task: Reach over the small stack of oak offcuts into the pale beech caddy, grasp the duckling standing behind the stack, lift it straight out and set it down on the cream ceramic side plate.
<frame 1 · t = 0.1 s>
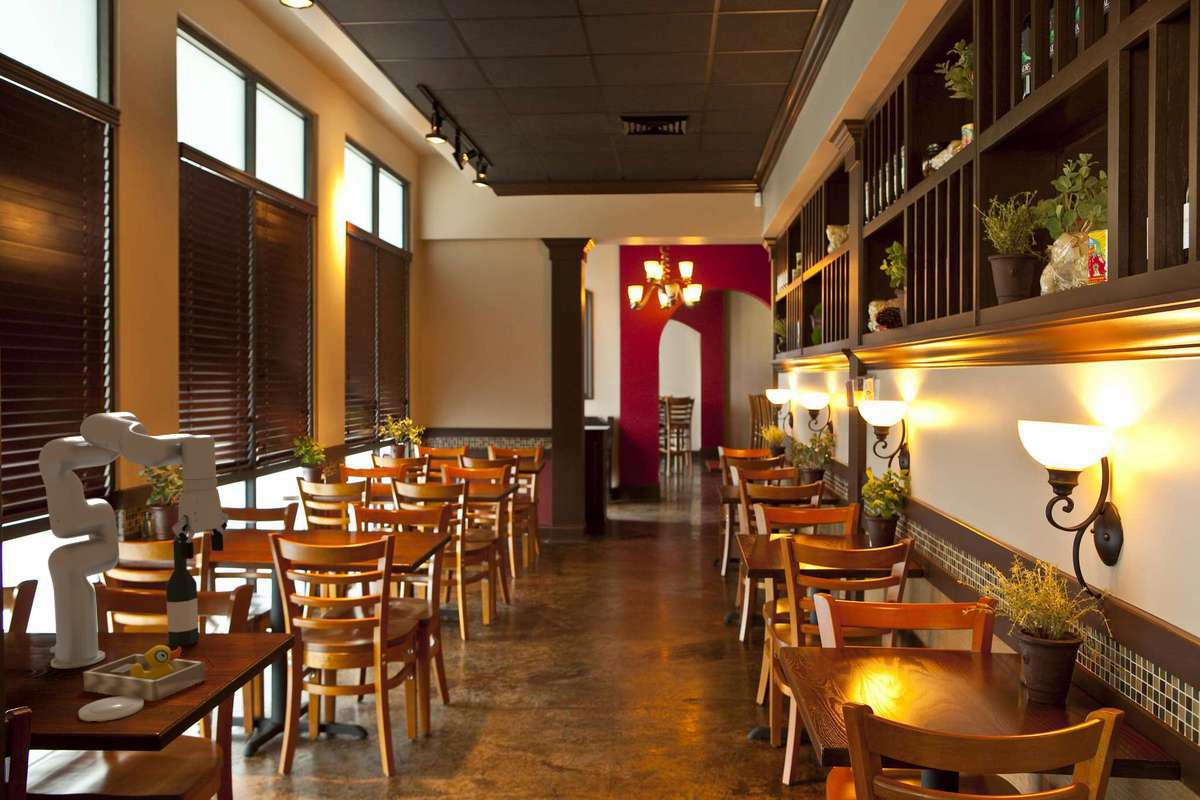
hand: (203, 554, 226), 31 cm above the table, tool pointing down, fingers open, 9 cm apart
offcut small: (125, 676, 226), point 2 cm above the table, touching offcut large
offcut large: (126, 685, 226), on the table, touching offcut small
wine bottle: (183, 643, 259), on the table
plate: (111, 710, 207), on the table
duckling: (156, 687, 223), on the table
caddy: (147, 685, 224), on the table
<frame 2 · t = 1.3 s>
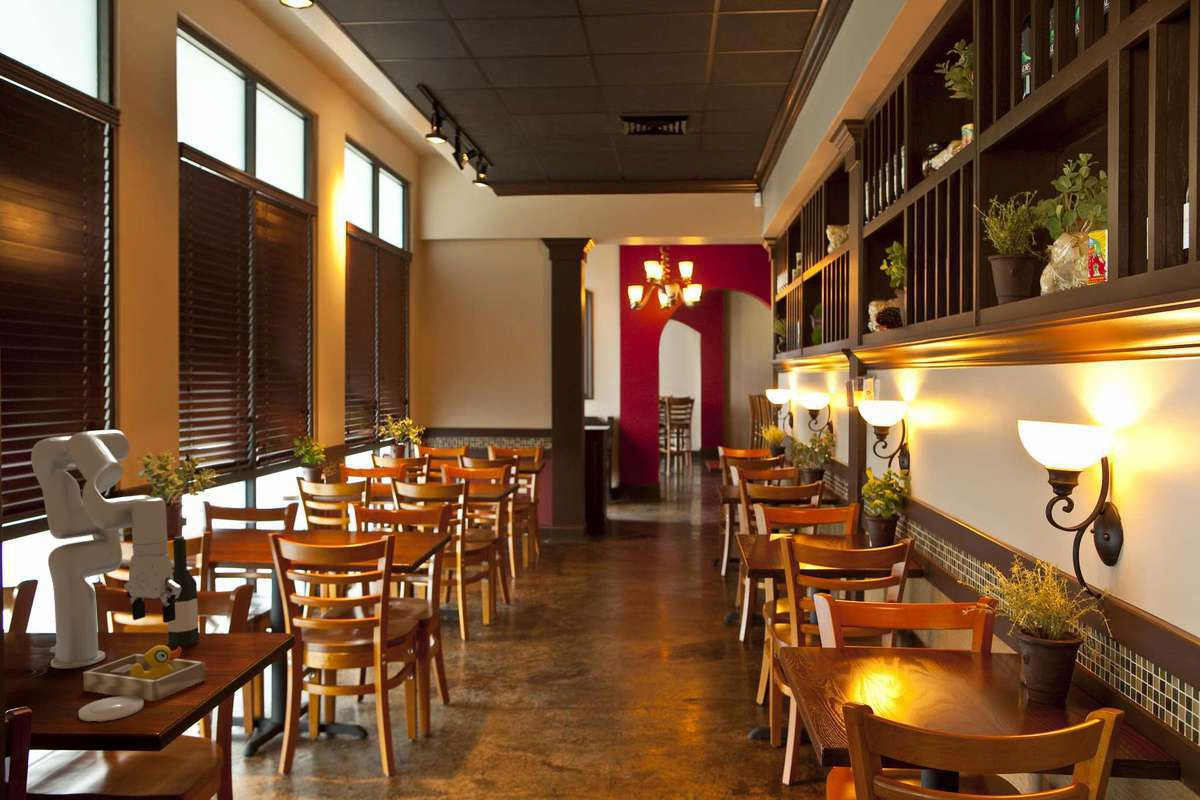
hand: (154, 619, 222), 16 cm above the table, tool pointing down, fingers open, 9 cm apart
nothing on the table moved.
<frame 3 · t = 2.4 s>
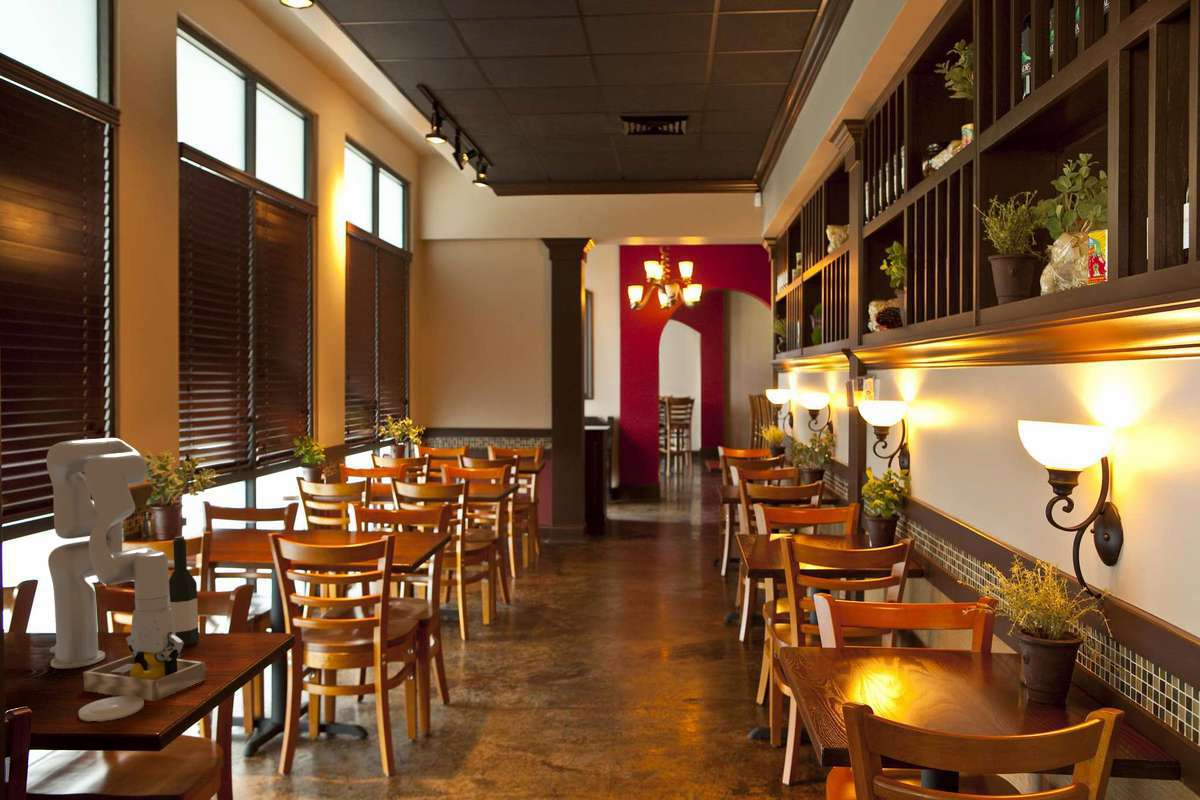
hand: (156, 673, 222), 3 cm above the table, tool pointing down, fingers open, 9 cm apart
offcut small: (126, 676, 226), point 2 cm above the table
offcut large: (126, 685, 226), on the table
everything else where it was.
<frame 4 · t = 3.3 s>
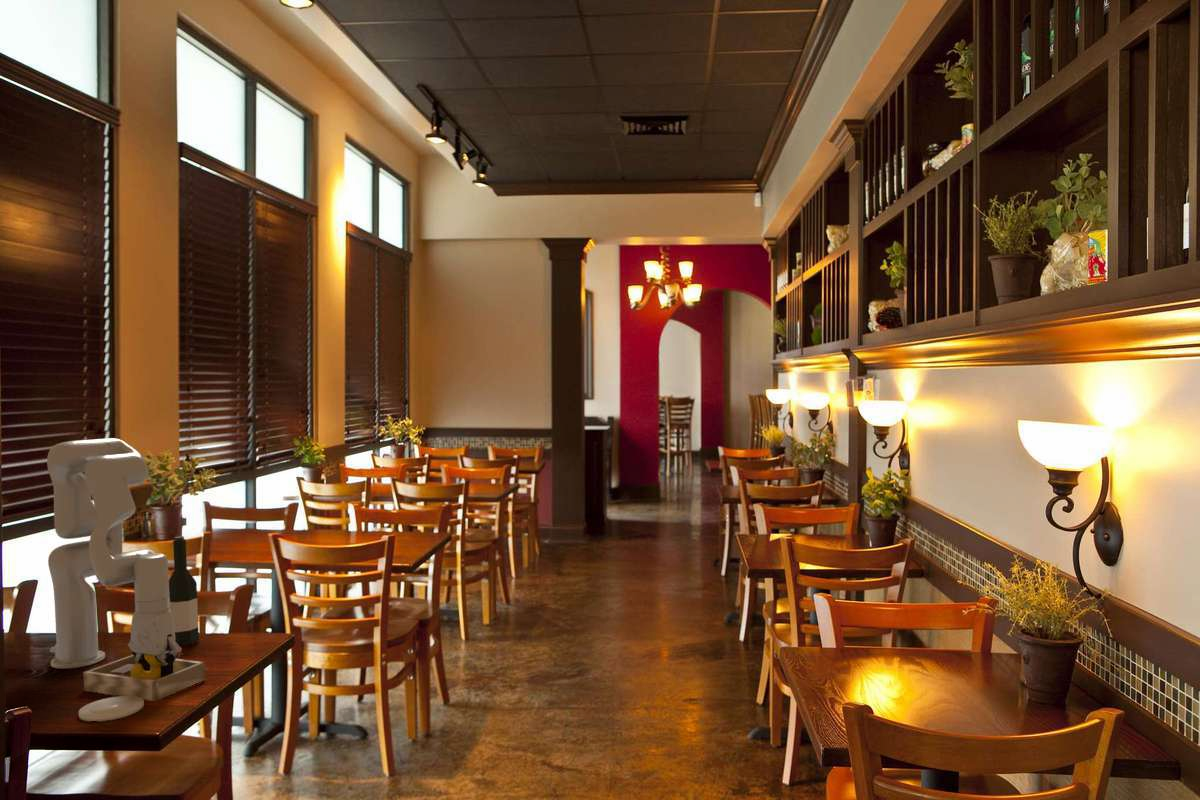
hand: (155, 677, 222), 2 cm above the table, tool pointing down, fingers closed on duckling, 6 cm apart
duckling: (156, 687, 222), on the table, touching gripper
everything else where it was.
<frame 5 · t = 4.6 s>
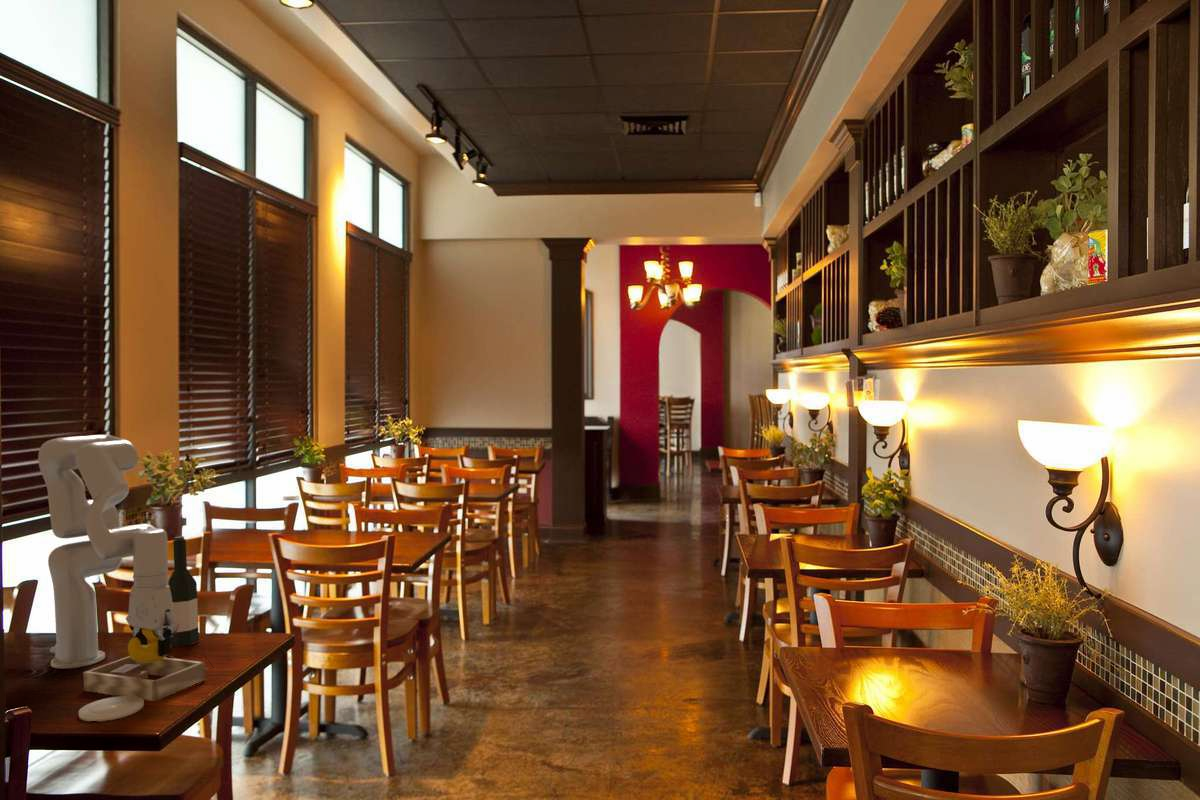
hand: (152, 652, 223), 8 cm above the table, tool pointing down, fingers closed on duckling, 6 cm apart
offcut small: (125, 676, 226), point 2 cm above the table, touching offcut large
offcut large: (125, 685, 226), on the table, touching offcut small
duckling: (153, 662, 223), point 6 cm above the table, touching gripper
everything else where it was.
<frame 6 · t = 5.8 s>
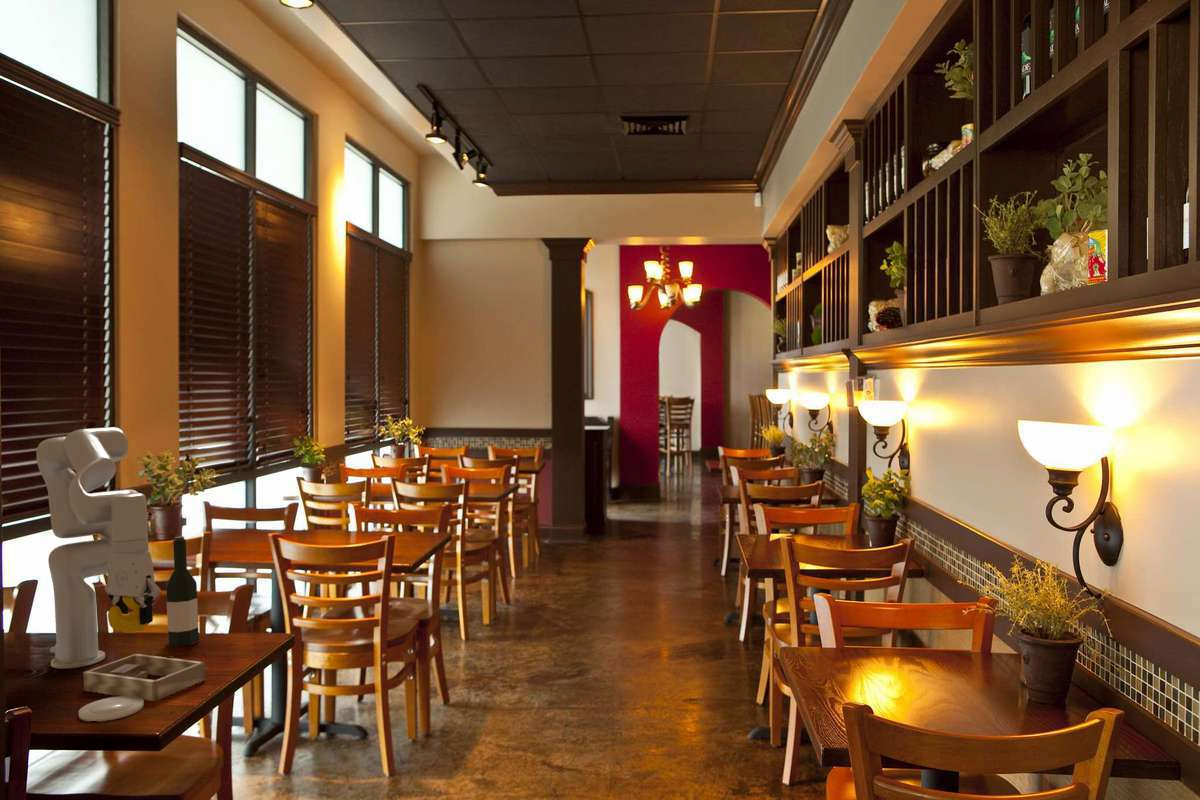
hand: (133, 621, 215), 18 cm above the table, tool pointing down, fingers closed on duckling, 6 cm apart
duckling: (135, 631, 215), point 16 cm above the table, touching gripper
everything else where it was.
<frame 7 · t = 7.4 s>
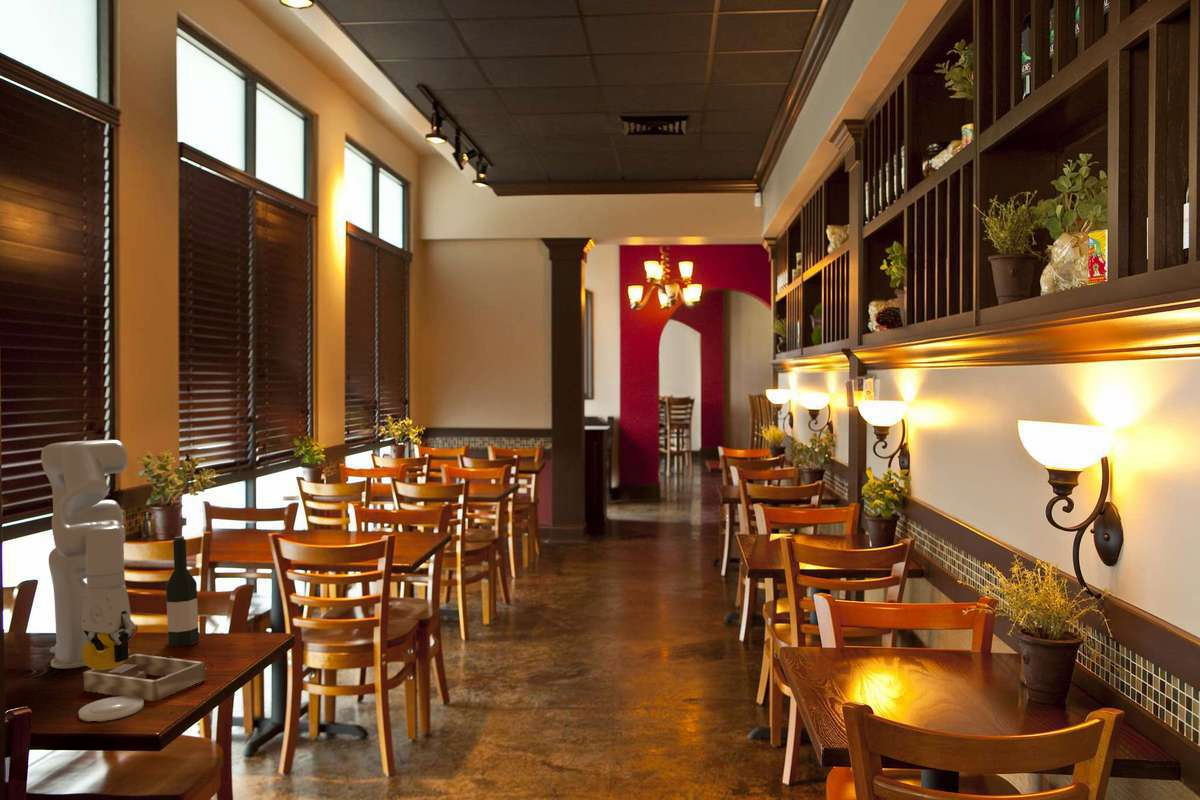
hand: (109, 658, 207), 12 cm above the table, tool pointing down, fingers closed on duckling, 6 cm apart
duckling: (110, 669, 207), point 9 cm above the table, touching gripper
everything else where it was.
when the fingers open (5 cm above the table, at t = 9.6 s): duckling drops 1 cm, resting on plate.
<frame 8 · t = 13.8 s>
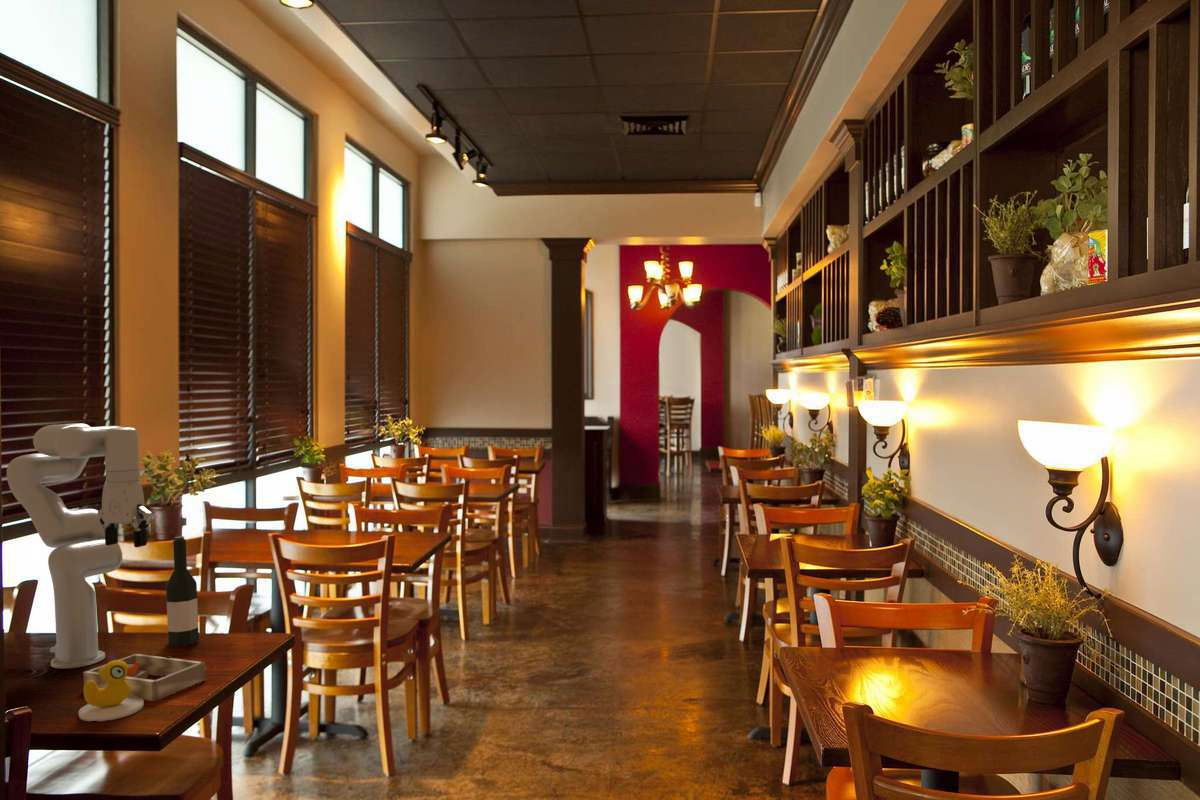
hand: (126, 545, 229), 33 cm above the table, tool pointing down, fingers open, 9 cm apart
duckling: (112, 706, 208), point 1 cm above the table, touching plate
everything else where it was.
at the end: duckling 0.1 cm from the plate (horizontally); duckling point 0.9 cm above the table; the gripper is holding nothing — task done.
